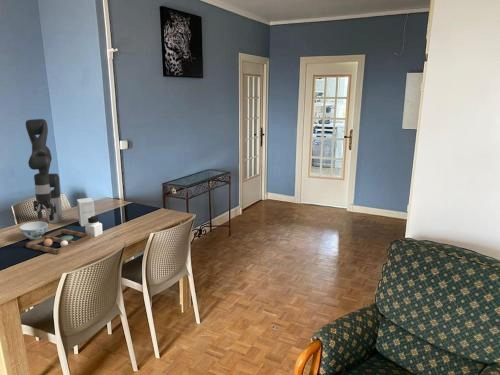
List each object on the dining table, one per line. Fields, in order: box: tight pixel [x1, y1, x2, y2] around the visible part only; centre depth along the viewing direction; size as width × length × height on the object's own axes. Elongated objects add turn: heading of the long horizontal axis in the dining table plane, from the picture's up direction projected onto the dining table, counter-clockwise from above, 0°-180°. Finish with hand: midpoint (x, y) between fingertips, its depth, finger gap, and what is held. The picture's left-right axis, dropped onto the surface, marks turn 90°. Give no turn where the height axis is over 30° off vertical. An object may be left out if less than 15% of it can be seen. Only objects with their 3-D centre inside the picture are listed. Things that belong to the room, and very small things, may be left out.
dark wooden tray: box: [24, 228, 93, 255], centre depth 223 cm, size 24×26×2 cm
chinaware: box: [19, 220, 49, 240], centre depth 229 cm, size 15×15×8 cm
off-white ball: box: [59, 240, 68, 248], centre depth 217 cm, size 4×4×4 cm
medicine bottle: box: [84, 215, 104, 238], centre depth 235 cm, size 7×7×12 cm
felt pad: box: [59, 235, 74, 241], centre depth 230 cm, size 8×8×1 cm
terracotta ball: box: [43, 239, 53, 247], centre depth 218 cm, size 4×4×4 cm
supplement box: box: [76, 197, 96, 227], centre depth 254 cm, size 10×9×17 cm
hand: (46, 219), depth 214 cm, fingers open, 8 cm apart
